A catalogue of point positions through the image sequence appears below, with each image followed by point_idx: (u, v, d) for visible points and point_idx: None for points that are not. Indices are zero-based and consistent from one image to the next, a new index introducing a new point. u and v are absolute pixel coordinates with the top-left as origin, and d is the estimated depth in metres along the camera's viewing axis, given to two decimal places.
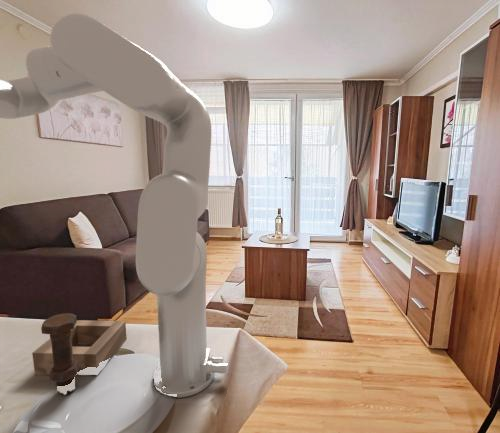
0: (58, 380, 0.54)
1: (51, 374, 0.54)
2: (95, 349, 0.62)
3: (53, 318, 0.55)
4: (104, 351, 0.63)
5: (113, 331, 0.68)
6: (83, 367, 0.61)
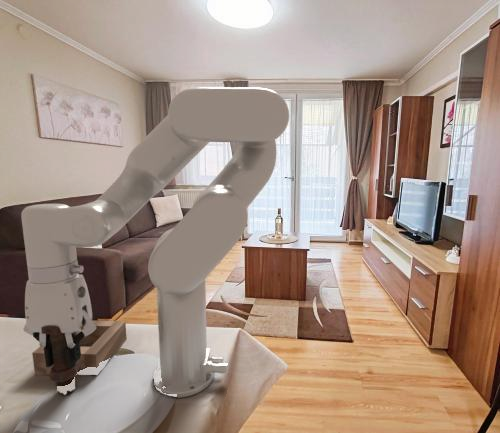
0: (58, 380, 0.54)
1: (51, 374, 0.54)
2: (95, 349, 0.62)
3: None
4: (104, 351, 0.63)
5: (113, 331, 0.68)
6: (83, 367, 0.61)
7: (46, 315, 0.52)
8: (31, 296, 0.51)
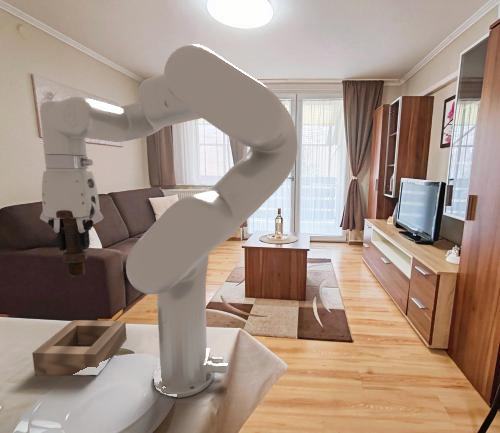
0: (70, 261, 0.62)
1: (64, 256, 0.62)
2: (95, 349, 0.62)
3: None
4: (104, 351, 0.63)
5: (113, 331, 0.68)
6: (83, 367, 0.61)
7: (60, 200, 0.60)
8: (47, 183, 0.59)
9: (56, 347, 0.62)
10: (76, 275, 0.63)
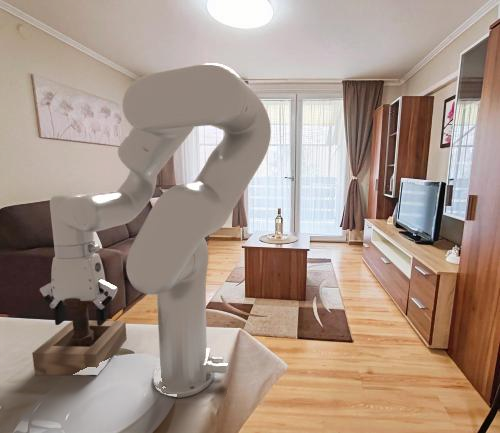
0: (77, 344, 0.65)
1: (72, 340, 0.65)
2: (95, 349, 0.62)
3: None
4: (104, 351, 0.63)
5: (113, 331, 0.68)
6: (83, 367, 0.61)
7: (69, 285, 0.63)
8: (57, 270, 0.62)
9: (56, 347, 0.62)
10: None
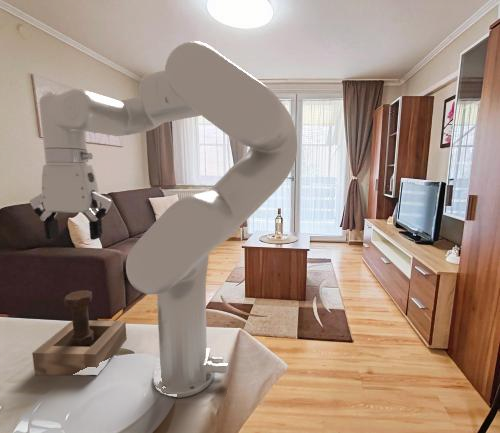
0: (77, 344, 0.65)
1: (71, 340, 0.65)
2: (95, 349, 0.62)
3: (73, 293, 0.66)
4: (104, 351, 0.63)
5: (113, 331, 0.68)
6: (83, 367, 0.61)
7: (60, 194, 0.59)
8: (47, 177, 0.59)
9: (56, 347, 0.62)
10: None
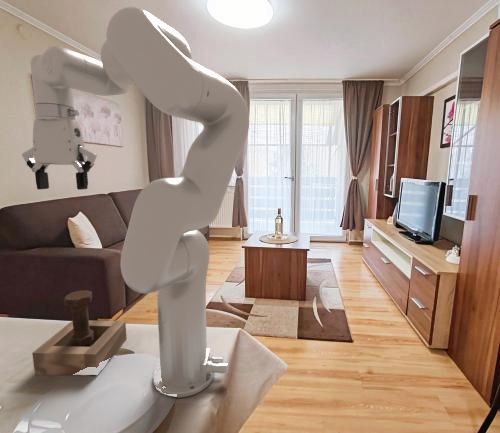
0: (77, 344, 0.65)
1: (71, 340, 0.65)
2: (95, 349, 0.62)
3: (73, 293, 0.66)
4: (104, 351, 0.63)
5: (113, 331, 0.68)
6: (83, 367, 0.61)
7: (49, 146, 0.66)
8: (38, 131, 0.66)
9: (56, 347, 0.62)
10: None
